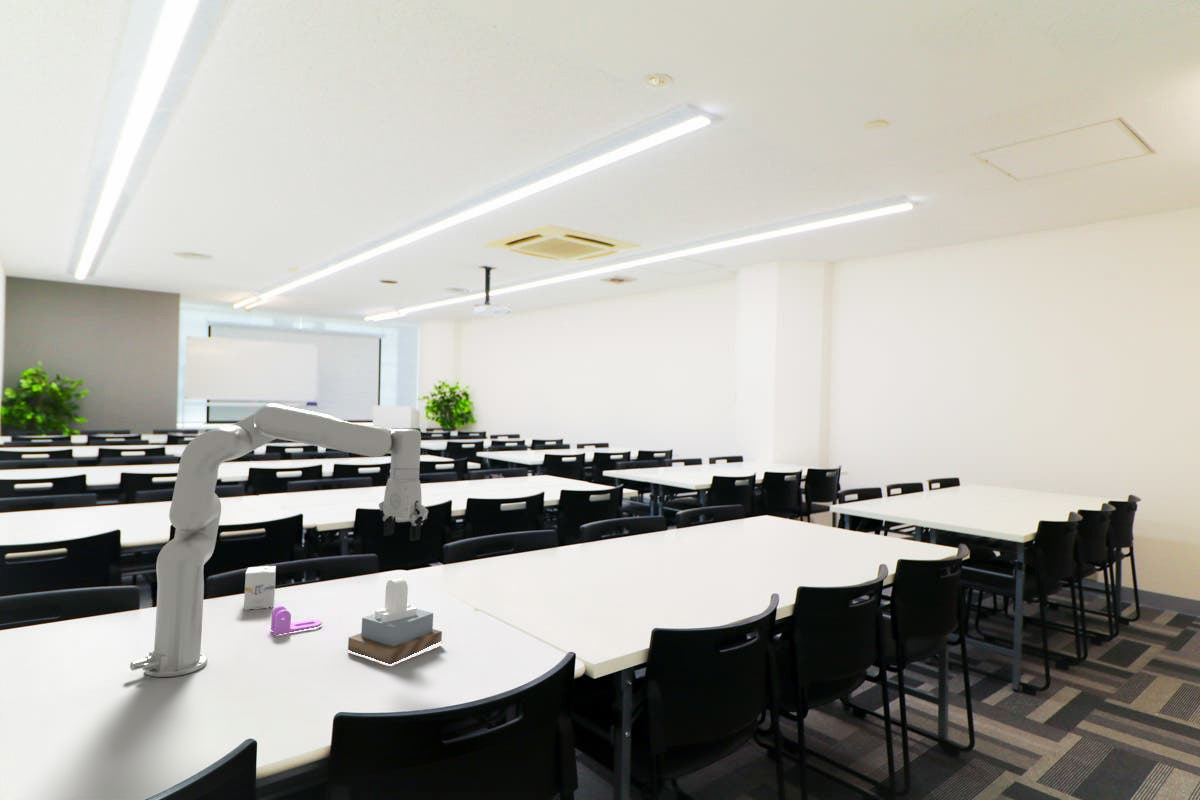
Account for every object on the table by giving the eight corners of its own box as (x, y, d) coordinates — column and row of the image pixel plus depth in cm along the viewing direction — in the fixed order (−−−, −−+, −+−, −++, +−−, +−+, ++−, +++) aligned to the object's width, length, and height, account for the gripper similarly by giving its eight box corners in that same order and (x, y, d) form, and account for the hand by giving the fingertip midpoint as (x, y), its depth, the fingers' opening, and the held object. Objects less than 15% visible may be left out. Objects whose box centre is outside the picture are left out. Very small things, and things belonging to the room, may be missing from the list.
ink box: (245, 602, 206) (247, 566, 206) (274, 600, 210) (276, 564, 210) (242, 610, 198) (245, 573, 199) (273, 608, 202) (275, 571, 202)
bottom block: (389, 670, 161) (390, 651, 161) (347, 656, 169) (348, 637, 169) (440, 649, 176) (441, 631, 176) (400, 637, 184) (400, 619, 184)
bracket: (275, 637, 178) (276, 612, 178) (270, 631, 182) (272, 606, 182) (324, 628, 186) (325, 604, 186) (318, 623, 191) (319, 599, 191)
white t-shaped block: (374, 617, 170) (376, 580, 170) (406, 610, 178) (408, 574, 178) (384, 622, 167) (386, 584, 167) (417, 614, 174) (419, 578, 174)
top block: (393, 646, 164) (394, 626, 164) (361, 636, 170) (362, 617, 170) (432, 631, 176) (433, 613, 176) (401, 622, 182) (401, 605, 182)
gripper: (371, 472, 174) (368, 535, 173) (418, 478, 165) (414, 544, 165) (392, 471, 180) (389, 531, 180) (438, 476, 172) (435, 540, 172)
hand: (401, 537), depth 173 cm, fingers open, 9 cm apart
